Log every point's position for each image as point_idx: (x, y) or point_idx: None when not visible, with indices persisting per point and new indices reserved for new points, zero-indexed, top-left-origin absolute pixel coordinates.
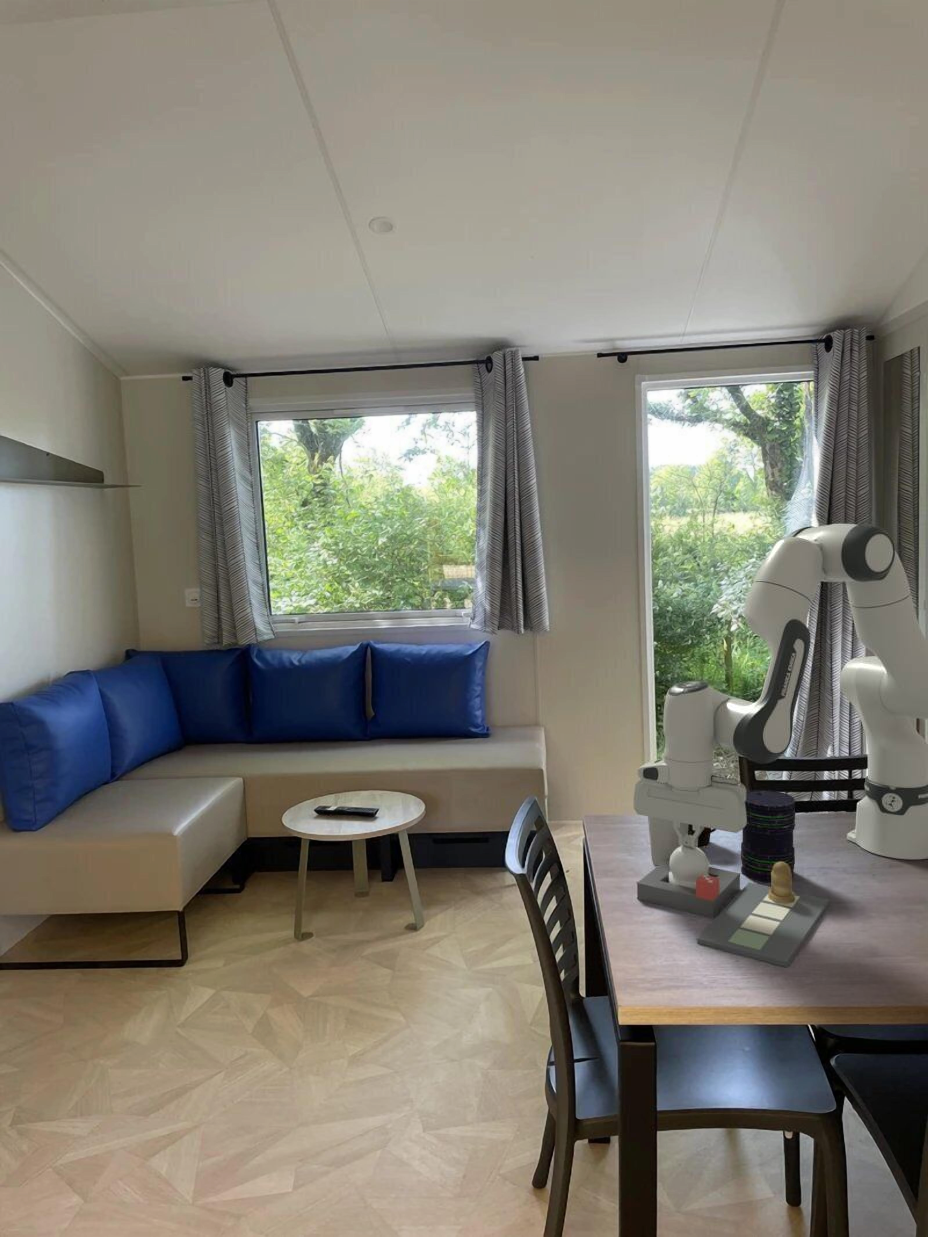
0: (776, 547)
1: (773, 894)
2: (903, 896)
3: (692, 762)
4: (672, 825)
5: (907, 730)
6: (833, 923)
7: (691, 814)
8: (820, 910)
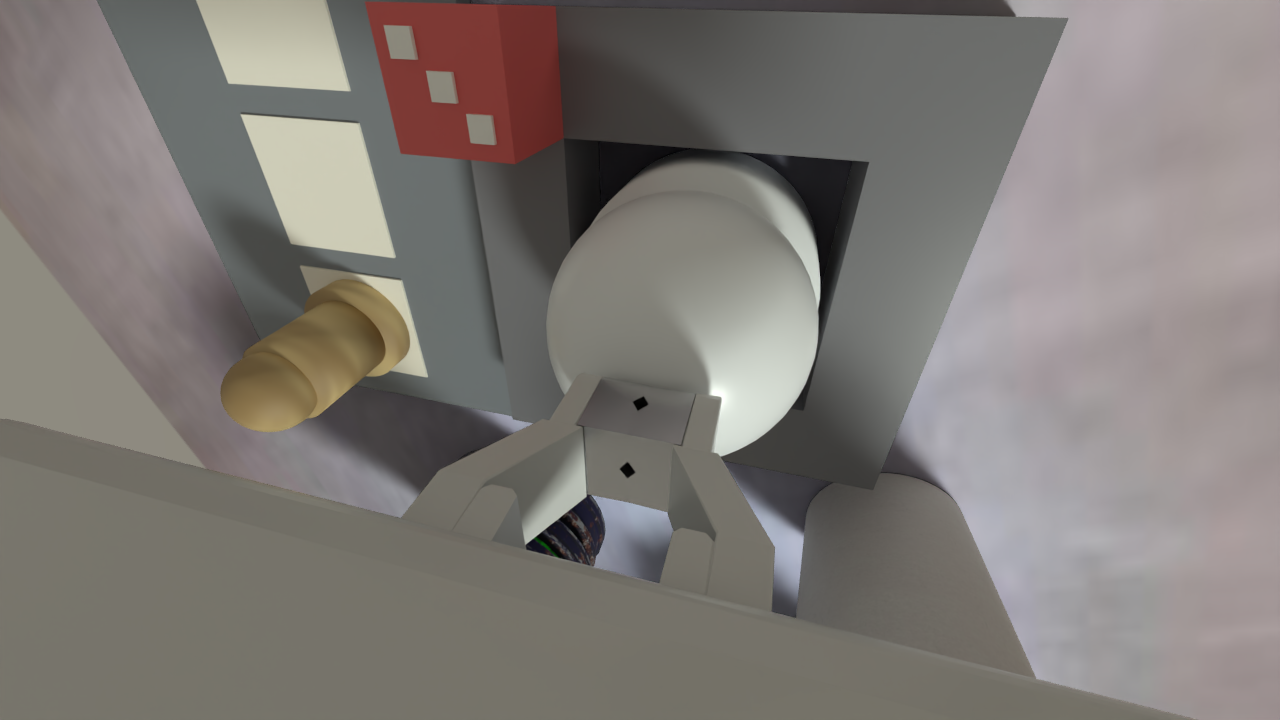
0: None
1: (358, 309)
2: (222, 461)
3: None
4: None
5: None
6: (188, 228)
7: (347, 696)
8: (234, 281)
